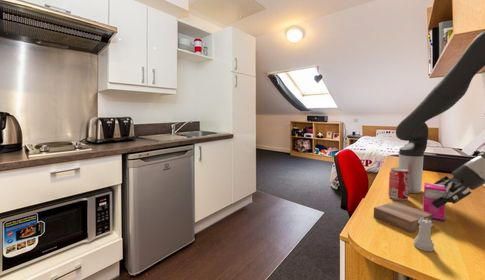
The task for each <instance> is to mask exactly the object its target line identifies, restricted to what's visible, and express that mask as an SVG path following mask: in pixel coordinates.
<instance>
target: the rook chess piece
mask: <svg viewBox="0 0 485 280" xmlns="http://www.w3.org/2000/svg"><path fill="white" fill-rule="evenodd" d="M418 223H419V224H420V226H419V230H418V234H417V235H416V236H415V238H414V239H413V245H414V246H415V248H417V249H418V250H420V251H424V252H429V253H430V252H433V251H434V250H435V244H434V242H433V240H432V237H431V235H432V234H431V232H432V227H433V226H434V223H433V220H432V221H431V220H429V221H428V219H427V218H426V220H424V218H420V220H419V221H418Z"/></svg>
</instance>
